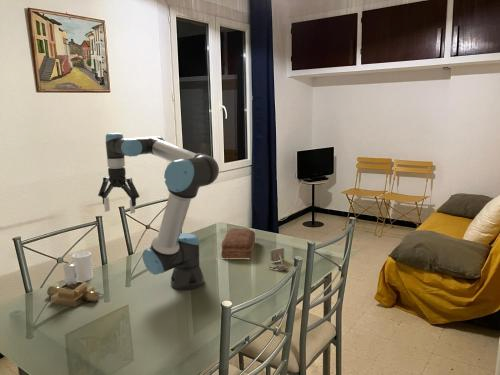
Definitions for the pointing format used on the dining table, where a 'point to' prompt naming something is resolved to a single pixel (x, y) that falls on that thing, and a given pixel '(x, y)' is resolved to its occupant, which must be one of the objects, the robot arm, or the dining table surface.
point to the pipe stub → (71, 276)
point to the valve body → (72, 294)
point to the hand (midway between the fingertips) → (119, 212)
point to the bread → (238, 243)
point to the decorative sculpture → (278, 258)
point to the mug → (83, 265)
